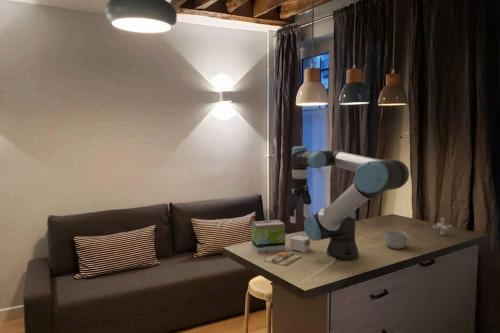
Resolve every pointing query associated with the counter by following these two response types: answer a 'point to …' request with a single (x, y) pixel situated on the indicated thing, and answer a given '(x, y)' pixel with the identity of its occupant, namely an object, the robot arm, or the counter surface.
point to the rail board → (283, 258)
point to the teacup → (396, 239)
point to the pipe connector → (442, 226)
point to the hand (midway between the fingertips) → (299, 219)
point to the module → (300, 243)
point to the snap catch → (283, 254)
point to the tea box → (268, 236)
